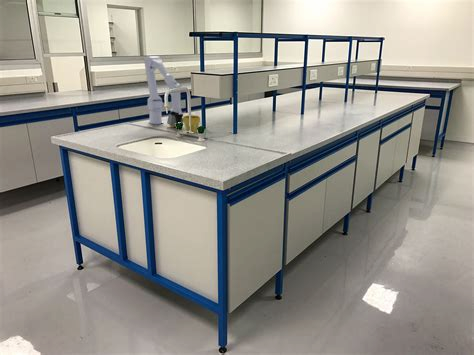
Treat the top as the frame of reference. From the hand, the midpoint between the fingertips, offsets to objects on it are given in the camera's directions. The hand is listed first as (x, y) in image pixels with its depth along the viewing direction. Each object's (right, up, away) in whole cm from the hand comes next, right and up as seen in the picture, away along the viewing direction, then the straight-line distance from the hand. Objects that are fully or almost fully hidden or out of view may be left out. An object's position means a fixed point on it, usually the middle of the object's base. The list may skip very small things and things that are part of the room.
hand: (176, 123), depth 247 cm
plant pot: (+12, -8, -15) cm, 20 cm away
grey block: (-2, -1, -1) cm, 2 cm away
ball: (-2, 0, -2) cm, 3 cm away
